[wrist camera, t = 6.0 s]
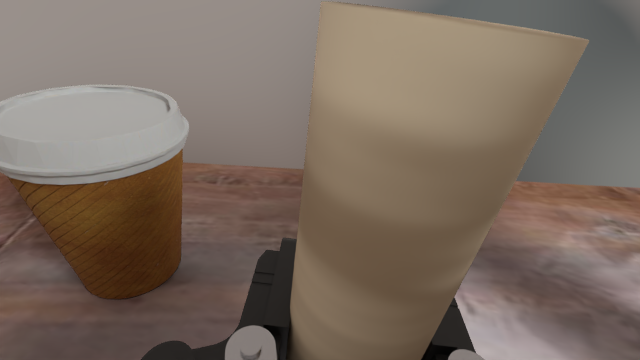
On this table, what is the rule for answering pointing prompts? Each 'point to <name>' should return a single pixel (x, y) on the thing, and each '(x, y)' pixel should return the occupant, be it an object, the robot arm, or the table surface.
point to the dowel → (409, 169)
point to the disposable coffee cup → (101, 179)
